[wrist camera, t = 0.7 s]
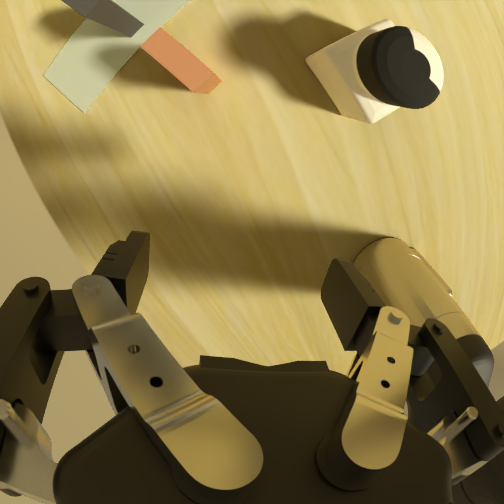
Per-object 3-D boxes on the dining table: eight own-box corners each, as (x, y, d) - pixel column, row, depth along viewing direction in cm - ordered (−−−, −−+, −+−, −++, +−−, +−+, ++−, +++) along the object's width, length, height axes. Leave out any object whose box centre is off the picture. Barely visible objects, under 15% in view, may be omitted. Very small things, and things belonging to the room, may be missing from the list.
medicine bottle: (342, 117, 26) (402, 136, 16) (302, 59, 23) (345, 38, 13) (393, 87, 24) (467, 94, 14) (358, 30, 21) (422, 6, 11)
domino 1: (114, 2, 18) (66, -26, 9) (144, 24, 20) (102, -3, 11) (102, 14, 18) (50, -7, 10) (131, 37, 20) (84, 17, 12)
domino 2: (185, 48, 22) (159, 26, 13) (221, 81, 24) (213, 72, 15) (172, 61, 23) (140, 46, 14) (208, 93, 25) (192, 92, 16)
